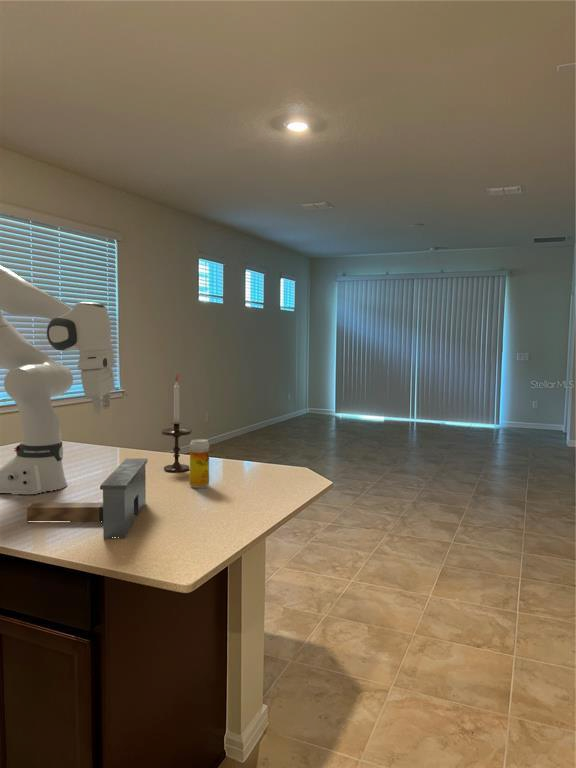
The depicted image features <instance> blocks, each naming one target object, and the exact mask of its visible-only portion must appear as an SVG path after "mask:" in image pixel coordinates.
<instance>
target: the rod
mask: <svg viewBox="0 0 576 768" xmlns="http://www.w3.org/2000/svg"><path fill="white" fill-rule="evenodd" d="M27 521H70V522H82V523H103V502H36V503H35V502H32V503H31V504H29V505H28V506H27V507H26V522H27ZM101 521H102V522H101Z"/></svg>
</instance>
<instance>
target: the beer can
mask: <svg viewBox="0 0 576 768" xmlns="http://www.w3.org/2000/svg"><path fill="white" fill-rule="evenodd" d="M190 441H191V442H190V443H189V485H190V486H191V488H193V489H205V488H208V486H209V484H210V442H209V439H206V438H196V439H195V438H194V439H192V440H190Z"/></svg>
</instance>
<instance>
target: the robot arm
mask: <svg viewBox="0 0 576 768" xmlns="http://www.w3.org/2000/svg"><path fill="white" fill-rule="evenodd" d="M1 311H3V312H5V313H7V314H10V315H15V316H26V317H27V316H29V317H39V318H44V319H47V320H50V321H49V323H48V324H47V328H46V339H47V340H48V343H49V345H50V346H51V347H52V348H53V349H55V350H56V351H60V352H61V351H62V352H72V351H78V352H79V360H78V361H77V370H78V371H80V379H81V384H82V389H83V394H84V397H85V398H86V399H87V400H88V399H91V403H92V405H93V408H94V414H96V415H98V414H103V411H104V410H105V409H106V410H107V409H110V408H111V398H112V394H111V392H112V391H114V390H115V387H116V386H115V385H116V384H115V378H114V377H115V376H114V372H113V368H112V367H114V366H116V364H115V363H116V362H115V355H114V354H115V353H114V346H113V344H112V339H111V337H112V328H111V326H112V325H111V320H110V316H109V312H108V310H107V307H106V306H105V304H103V303H101V302H94V301H79V302H77V303H75V304H74V306H71V305H70V304H68V303H66V302H64V301H62V300H61V299H59V298H57V297H55V296H53V295H50V294H49V293H48V292H46V291H44V290H42V289H40V288H39V287H37V286H35V285H33V284H32V283H30V282H28V281H27V280H25V279H24V278H22V277H21V276H20V275H18V274H16V273H15V272H13V271H12V270H10V269H8V268H6V267H5V266H3V265H0V367H1V368H3V369H5V370H7V371H8V372H7V373H6V375H5V377H4V381H3V386H4V387H3V388H4V390H5V392H6V394H7V396H8V397H10V398H11V399H12V400H13V401H14V403H15V404H16V407H17V410H18V412H19V415H20V422H21V438H22V441H21V442H20V443H19V444H17V445H16V447H14V448H13V449H14V452H16V456H14V457H12V458H11V459H10V460H9V461H7V462H6V463H5V464H4V465H3V466H1V467H0V493H14V494H13V495H18V494H36V495H38V494H37V493H40V494H42V493H41V492H44V493H47V492H46V491H50V492H54V491H53V490H55V491H58V490H61V489H64V488H66V487H67V486H68V481H67V479H66V476H65V471H64V467H63V458H64V447H63V442H62V433H61V431H62V429H61V424H62V423H61V417H60V416H59V414H58V413H57V412H56V411H55V409H54V406H53V403H52V400H51V399H52V398H57V397H59V396H61V395H63V394H65V393H66V392H68V391H69V390H70V389H71V388H72V386H73V382H74V377H73V376H74V375H73V373H72V371H71V370H70V368H69V367H67V366H65V365H63V364H61V363H59V362H57V361H55V360H54V359H53V358H51V357H50V356H48V355H47V354H45V353H44V352H43V351H41V350H40V349H38V348H37V347H36V346H34V345H33V344H32V343H30V342H29V341H28V340H27V339H26V337H24V335H22V334H21V333H20V332H19V331H18V330H17V328H16V327H15V326H14V325H12V323H11V322H10V321H8V320H7V319H6V318H5V316H4V315H3V314H2V312H1ZM103 409H104V410H103ZM57 489H58V490H57Z"/></svg>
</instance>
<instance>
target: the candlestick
mask: <svg viewBox="0 0 576 768" xmlns="http://www.w3.org/2000/svg"><path fill="white" fill-rule="evenodd" d="M178 377H179V374H178V373H177V374H176V377H175V384H174V386H173V422H171V423H170V424H172V425H173V427H170V428H169V427H168V428H163V429H161V430H160V434H161V435H163V436H170V437H172V438H174V447H173V448H172V451H173V452H174V453H173V455H172V456H173V457H174V462H173V464H167V465H165V466H164V467H163V471H164V472H166V473H174V474H175V473H184V472H187V471H190V465H187V464H182V463H180V462H179V460H180V459H179V457H180V456H181V455H180V452H181V448H180V447H179V438H181V436H189V435H192V434H193V430H192V429H191V428H188V427H186V428H185V427H180V425H181V424H182V422H180V385H179V384H178Z"/></svg>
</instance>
